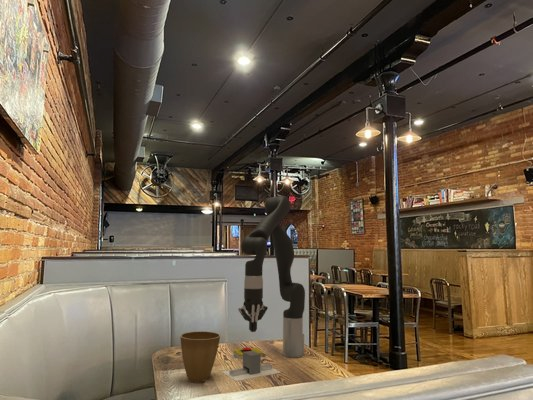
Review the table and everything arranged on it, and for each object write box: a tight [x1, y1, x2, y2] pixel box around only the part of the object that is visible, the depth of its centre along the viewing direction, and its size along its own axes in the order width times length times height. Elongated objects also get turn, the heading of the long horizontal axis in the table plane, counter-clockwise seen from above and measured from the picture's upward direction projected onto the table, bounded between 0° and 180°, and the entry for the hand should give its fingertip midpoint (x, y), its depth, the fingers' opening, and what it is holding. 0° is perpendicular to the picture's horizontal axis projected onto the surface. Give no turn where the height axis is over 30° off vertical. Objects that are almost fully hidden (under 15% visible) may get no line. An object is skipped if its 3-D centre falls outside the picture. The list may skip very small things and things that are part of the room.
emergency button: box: [230, 346, 264, 360], centre depth 169 cm, size 9×4×15 cm
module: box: [242, 351, 262, 375], centre depth 146 cm, size 4×6×7 cm
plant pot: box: [179, 330, 221, 383], centre depth 139 cm, size 15×15×16 cm
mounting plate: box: [221, 363, 282, 383], centre depth 145 cm, size 20×12×1 cm, turn 123°
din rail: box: [229, 363, 273, 377], centre depth 145 cm, size 18×2×2 cm, turn 123°
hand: (252, 331), depth 147 cm, fingers closed
